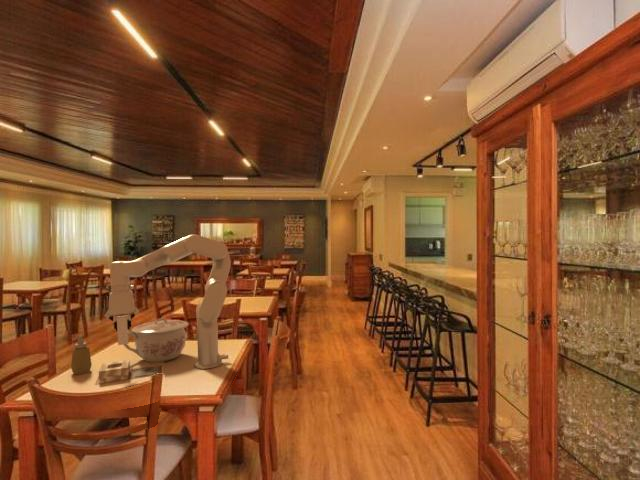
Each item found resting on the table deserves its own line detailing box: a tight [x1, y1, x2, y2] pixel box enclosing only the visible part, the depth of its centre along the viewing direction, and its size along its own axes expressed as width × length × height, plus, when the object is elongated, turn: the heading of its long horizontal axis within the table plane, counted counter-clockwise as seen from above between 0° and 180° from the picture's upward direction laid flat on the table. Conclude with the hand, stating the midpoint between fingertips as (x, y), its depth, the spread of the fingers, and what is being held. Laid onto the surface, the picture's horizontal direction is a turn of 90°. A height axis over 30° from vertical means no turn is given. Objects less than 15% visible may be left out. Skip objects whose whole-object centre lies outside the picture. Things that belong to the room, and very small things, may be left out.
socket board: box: [94, 359, 163, 386], centre depth 170 cm, size 26×13×6 cm, turn 113°
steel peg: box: [116, 314, 130, 346], centre depth 169 cm, size 4×4×12 cm
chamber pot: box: [123, 317, 190, 363], centre depth 196 cm, size 28×28×21 cm
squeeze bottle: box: [70, 335, 93, 376], centre depth 175 cm, size 8×8×18 cm
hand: (123, 329), depth 169 cm, fingers closed on steel peg, 4 cm apart
